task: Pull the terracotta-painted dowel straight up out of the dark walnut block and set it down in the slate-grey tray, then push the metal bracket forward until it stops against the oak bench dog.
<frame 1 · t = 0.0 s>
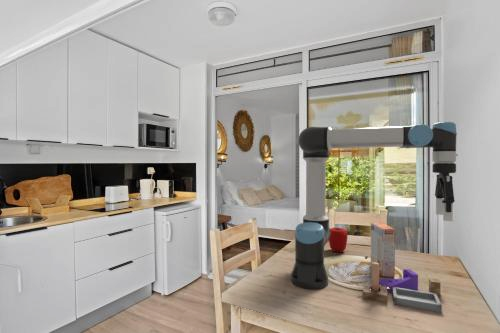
hand: (443, 217, 110), 28 cm above the table, fingers open, 13 cm apart
apple: (337, 251, 157), on the table
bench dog: (434, 293, 107), on the table
dowel: (375, 279, 105), in the dowel block
cracker box: (382, 271, 128), on the table
dowel block: (375, 295, 105), on the table
tray: (415, 302, 100), on the table
bracket: (397, 289, 112), on the table
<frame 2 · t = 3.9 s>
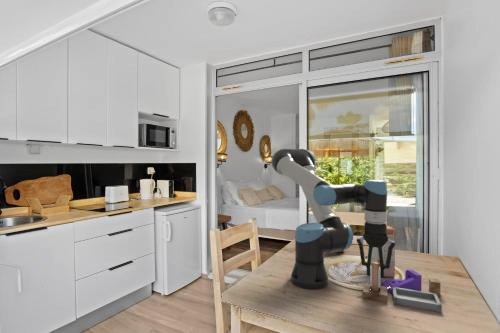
hand: (375, 285, 105), 4 cm above the table, fingers closed on dowel, 2 cm apart
dowel: (375, 279, 105), in the dowel block, touching gripper
bracket: (400, 290, 111), on the table
everything else where it was.
when the fingers open (6 cm above the table, at t = 8.8 s): dowel drops 1 cm, resting on tray.
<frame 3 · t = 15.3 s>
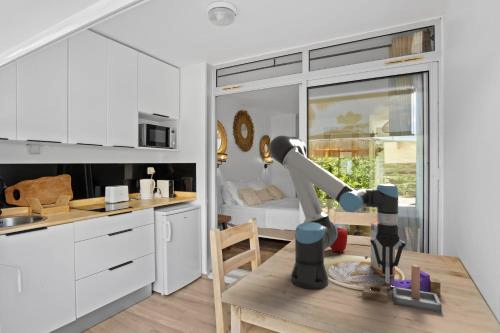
hand: (387, 282, 113), 2 cm above the table, fingers closed
dowel: (415, 283, 100), in the tray, point 7 cm above the table
bracket: (409, 290, 110), on the table, touching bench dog, gripper
everything else where it was.
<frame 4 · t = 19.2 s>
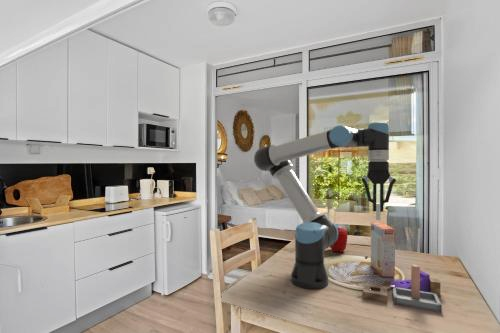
hand: (378, 219, 114), 26 cm above the table, fingers closed
bracket: (409, 290, 110), on the table
everything else where it was.
at the end: dowel inside the target area on the tray (0.1 cm from its centre), point 6.8 cm above the tray's base; bracket inside the target area (2.9 cm from its centre), on the table; the gripper is holding nothing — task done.
